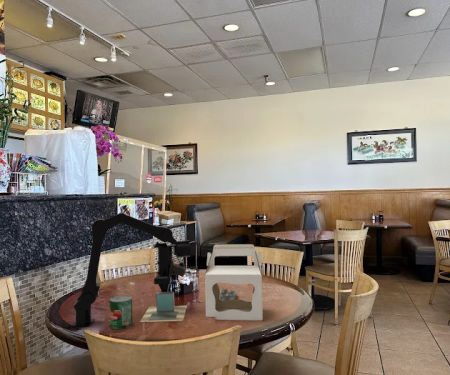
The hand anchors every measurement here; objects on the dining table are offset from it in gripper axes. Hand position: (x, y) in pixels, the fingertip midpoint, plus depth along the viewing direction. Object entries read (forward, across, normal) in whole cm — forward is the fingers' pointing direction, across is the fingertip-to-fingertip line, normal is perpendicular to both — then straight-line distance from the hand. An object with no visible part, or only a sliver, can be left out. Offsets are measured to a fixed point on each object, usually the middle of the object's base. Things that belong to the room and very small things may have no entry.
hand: (165, 296), depth 142 cm
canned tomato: (+7, -15, +14) cm, 21 cm away
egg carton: (+7, +19, -26) cm, 33 cm away
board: (+7, -3, 0) cm, 7 cm away
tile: (+6, -1, 0) cm, 6 cm away
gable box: (+7, -3, -28) cm, 29 cm away
